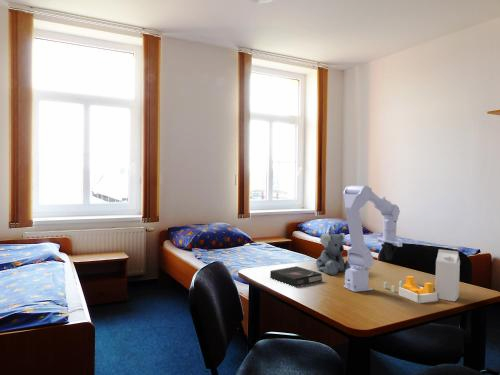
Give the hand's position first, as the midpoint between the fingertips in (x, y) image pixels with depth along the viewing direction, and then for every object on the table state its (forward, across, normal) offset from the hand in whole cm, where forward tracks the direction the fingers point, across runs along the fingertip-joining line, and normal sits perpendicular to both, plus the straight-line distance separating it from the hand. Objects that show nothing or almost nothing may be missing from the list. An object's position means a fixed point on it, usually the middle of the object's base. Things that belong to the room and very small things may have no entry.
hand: (388, 259), depth 174 cm
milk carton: (+10, -27, -6) cm, 29 cm away
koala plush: (+10, +25, +14) cm, 30 cm away
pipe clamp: (+10, -21, +3) cm, 24 cm away
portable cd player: (+11, +14, +40) cm, 44 cm away
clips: (+10, -14, +5) cm, 18 cm away
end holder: (+10, -23, +5) cm, 26 cm away
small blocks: (+10, -9, +5) cm, 14 cm away
